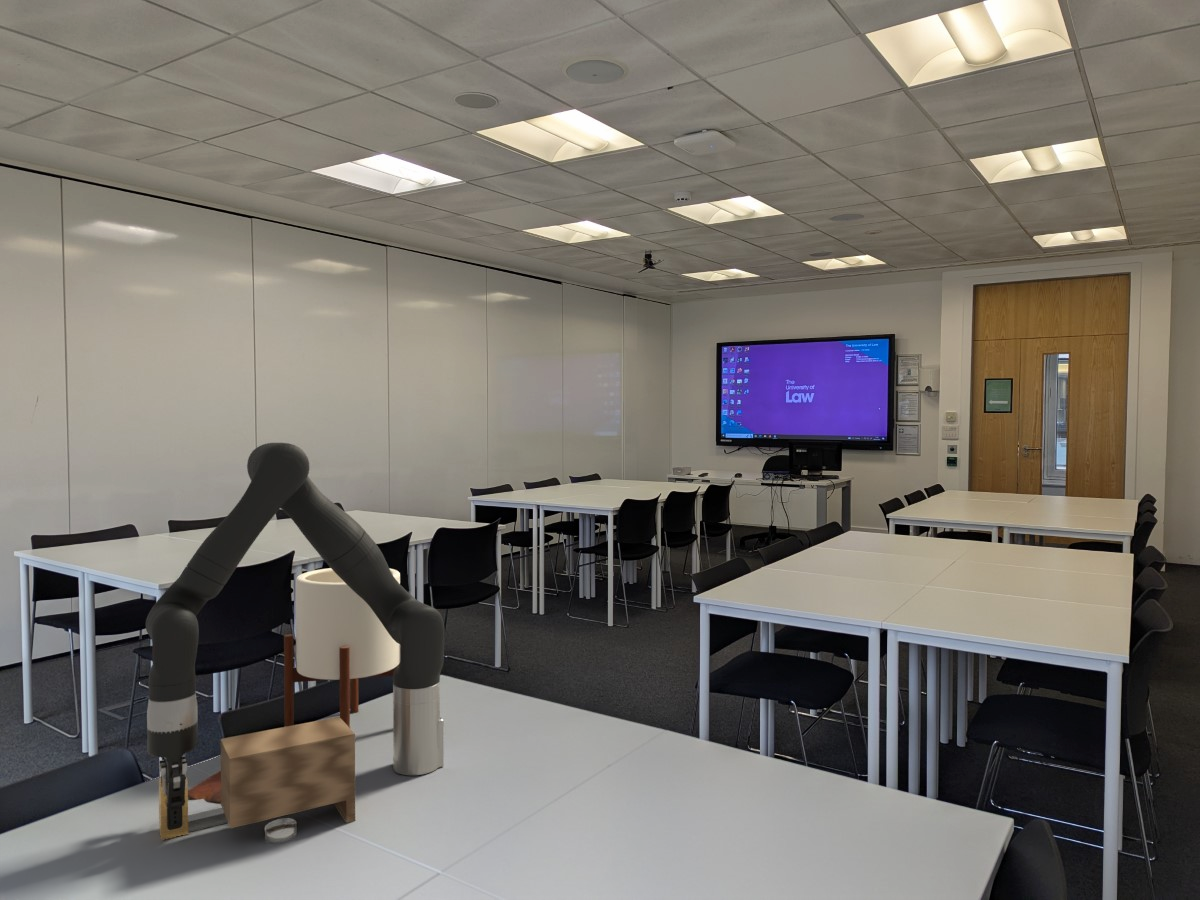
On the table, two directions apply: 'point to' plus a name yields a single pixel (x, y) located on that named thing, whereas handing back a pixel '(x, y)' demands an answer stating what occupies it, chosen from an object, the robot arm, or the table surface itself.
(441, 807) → the table surface
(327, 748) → the walnut cabinet
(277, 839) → the steel token
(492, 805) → the table surface
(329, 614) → the plant pot with stand
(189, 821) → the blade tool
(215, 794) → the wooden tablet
